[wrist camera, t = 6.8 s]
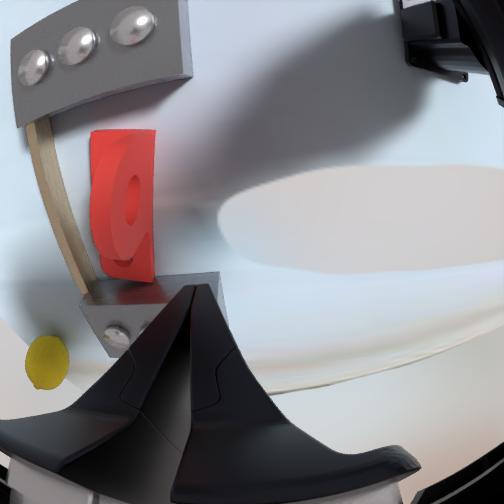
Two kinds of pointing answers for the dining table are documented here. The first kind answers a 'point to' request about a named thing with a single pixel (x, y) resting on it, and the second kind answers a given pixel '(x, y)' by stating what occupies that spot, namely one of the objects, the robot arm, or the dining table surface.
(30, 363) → the lemon
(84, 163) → the dining table surface
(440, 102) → the dining table surface
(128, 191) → the bracket
